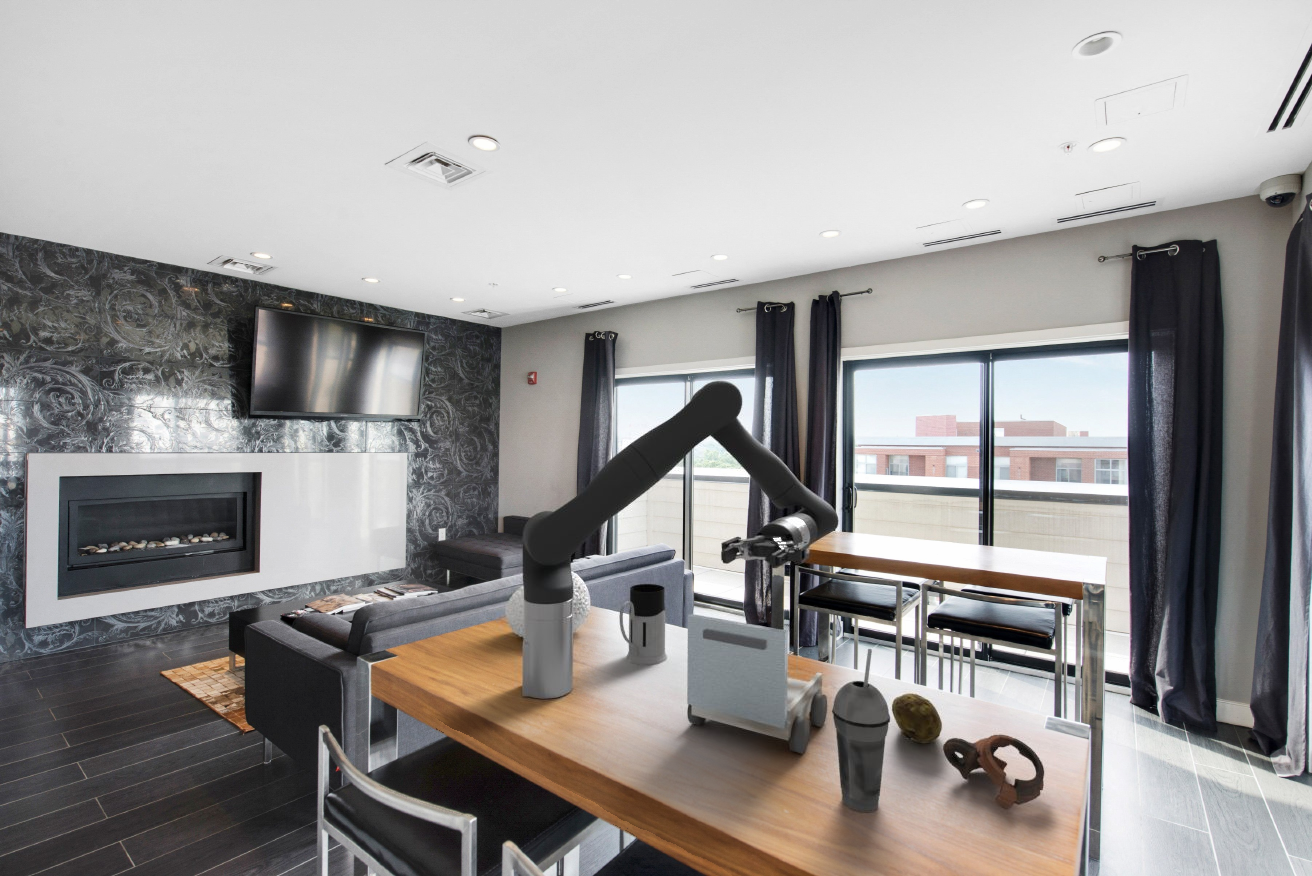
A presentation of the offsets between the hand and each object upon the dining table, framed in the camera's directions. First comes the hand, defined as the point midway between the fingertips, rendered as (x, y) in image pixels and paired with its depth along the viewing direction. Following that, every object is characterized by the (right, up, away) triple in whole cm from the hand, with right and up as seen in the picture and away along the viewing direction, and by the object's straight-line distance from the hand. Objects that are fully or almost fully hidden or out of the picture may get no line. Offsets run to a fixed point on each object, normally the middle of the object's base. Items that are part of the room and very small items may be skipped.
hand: (748, 559), depth 99 cm
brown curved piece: (+31, -29, -15) cm, 45 cm away
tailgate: (-2, -23, -4) cm, 23 cm away
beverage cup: (+12, -28, -18) cm, 36 cm away
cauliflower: (-40, -28, +47) cm, 68 cm away
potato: (+27, -28, -2) cm, 39 cm away
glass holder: (-18, -28, +32) cm, 46 cm away
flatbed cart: (+2, -28, +4) cm, 28 cm away
